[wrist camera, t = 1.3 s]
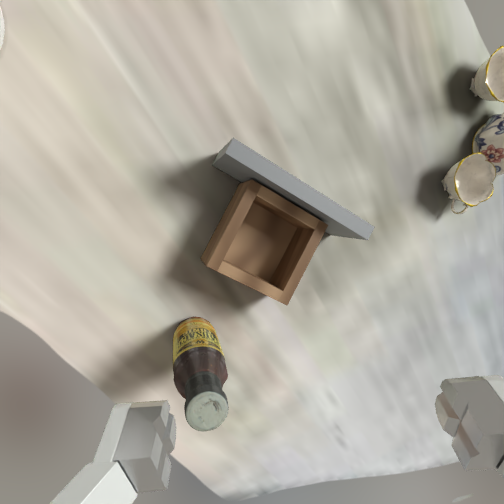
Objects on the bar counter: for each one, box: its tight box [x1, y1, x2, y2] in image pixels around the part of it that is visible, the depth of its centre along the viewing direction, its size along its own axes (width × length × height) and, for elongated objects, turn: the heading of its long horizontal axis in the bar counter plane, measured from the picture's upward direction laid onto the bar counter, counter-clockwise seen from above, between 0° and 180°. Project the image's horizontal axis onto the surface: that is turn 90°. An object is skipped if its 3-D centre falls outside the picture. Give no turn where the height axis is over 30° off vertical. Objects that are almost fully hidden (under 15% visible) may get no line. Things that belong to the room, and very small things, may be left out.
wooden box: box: [201, 179, 328, 305], centre depth 47 cm, size 12×12×7 cm
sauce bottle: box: [173, 317, 228, 431], centre depth 40 cm, size 6×6×20 cm
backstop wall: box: [212, 138, 374, 240], centre depth 46 cm, size 22×2×10 cm, turn 61°
